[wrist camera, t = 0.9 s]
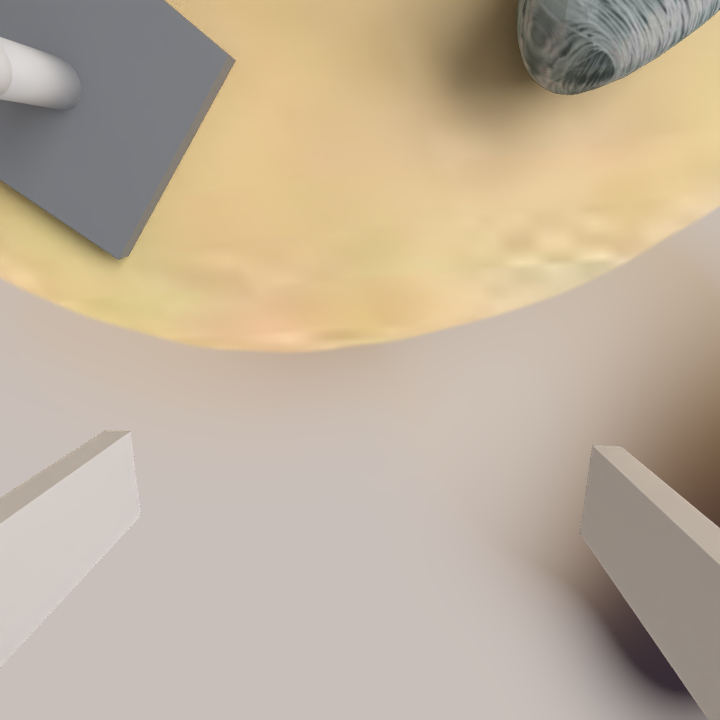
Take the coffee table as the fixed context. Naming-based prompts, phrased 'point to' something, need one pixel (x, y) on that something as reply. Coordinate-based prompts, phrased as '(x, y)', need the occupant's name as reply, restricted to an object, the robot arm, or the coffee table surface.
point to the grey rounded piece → (601, 37)
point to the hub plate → (101, 108)
